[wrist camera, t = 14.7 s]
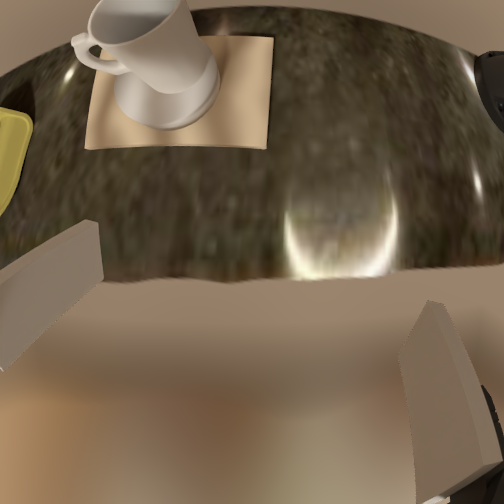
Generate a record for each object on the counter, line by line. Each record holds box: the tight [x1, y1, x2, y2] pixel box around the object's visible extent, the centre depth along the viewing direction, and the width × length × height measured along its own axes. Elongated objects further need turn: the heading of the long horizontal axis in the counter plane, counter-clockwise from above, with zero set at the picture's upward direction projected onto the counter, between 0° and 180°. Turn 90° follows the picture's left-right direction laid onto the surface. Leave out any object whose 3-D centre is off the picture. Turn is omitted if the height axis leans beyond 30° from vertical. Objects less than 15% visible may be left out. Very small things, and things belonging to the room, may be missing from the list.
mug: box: [71, 0, 206, 94], centre depth 18 cm, size 10×7×12 cm, turn 96°
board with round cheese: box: [85, 36, 274, 150], centre depth 26 cm, size 22×14×6 cm, turn 86°
